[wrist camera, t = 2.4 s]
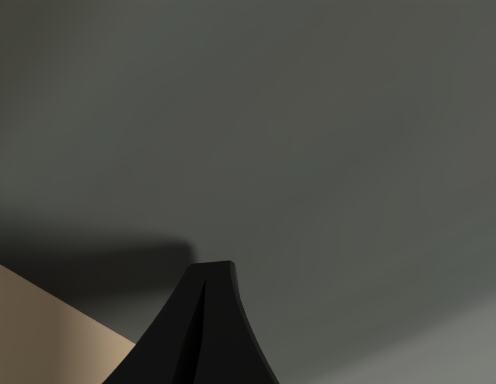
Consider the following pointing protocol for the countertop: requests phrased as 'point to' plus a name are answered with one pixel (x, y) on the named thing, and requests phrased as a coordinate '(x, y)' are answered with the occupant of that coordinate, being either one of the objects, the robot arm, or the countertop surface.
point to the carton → (52, 338)
